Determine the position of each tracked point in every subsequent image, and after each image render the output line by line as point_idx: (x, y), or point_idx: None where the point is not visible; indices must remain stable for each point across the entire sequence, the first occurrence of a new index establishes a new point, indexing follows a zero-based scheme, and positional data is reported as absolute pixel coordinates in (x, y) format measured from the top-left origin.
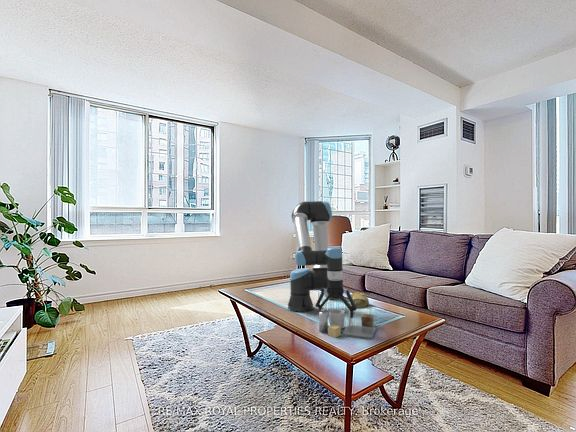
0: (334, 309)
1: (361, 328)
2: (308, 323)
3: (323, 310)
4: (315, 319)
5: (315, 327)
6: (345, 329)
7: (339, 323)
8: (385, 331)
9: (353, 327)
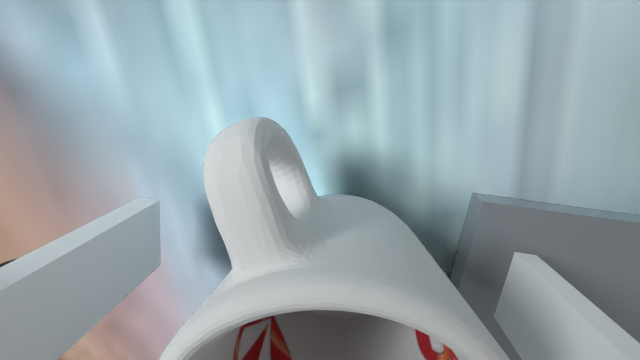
0: (251, 318)
1: (638, 306)
2: (8, 179)
3: (15, 324)
4: (11, 3)
5: None
6: None
7: None
8: None
9: None
